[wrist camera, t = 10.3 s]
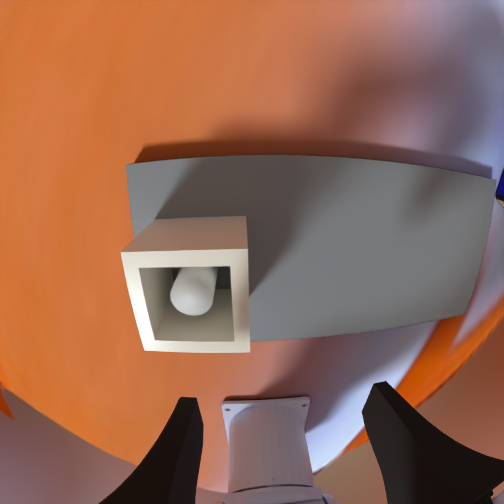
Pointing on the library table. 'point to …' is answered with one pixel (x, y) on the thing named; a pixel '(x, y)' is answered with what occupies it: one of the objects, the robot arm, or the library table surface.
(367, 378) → the library table surface
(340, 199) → the base board
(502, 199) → the puzzle cube
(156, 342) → the collar
